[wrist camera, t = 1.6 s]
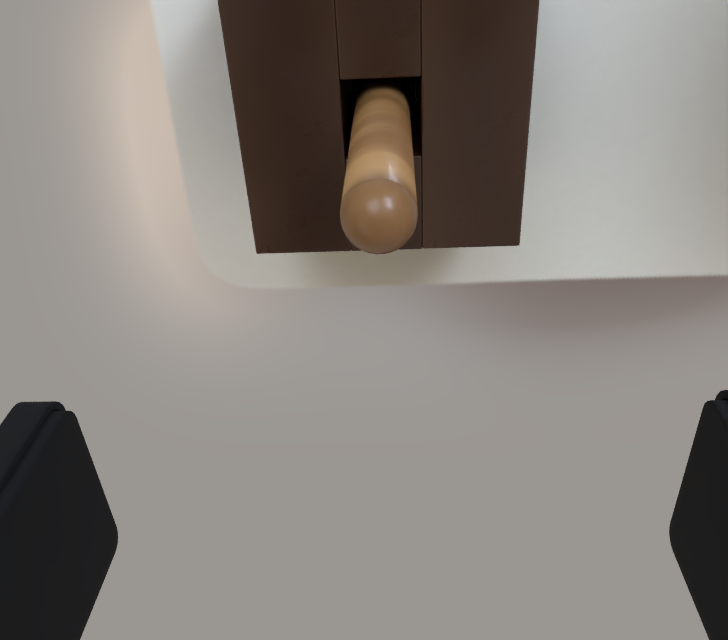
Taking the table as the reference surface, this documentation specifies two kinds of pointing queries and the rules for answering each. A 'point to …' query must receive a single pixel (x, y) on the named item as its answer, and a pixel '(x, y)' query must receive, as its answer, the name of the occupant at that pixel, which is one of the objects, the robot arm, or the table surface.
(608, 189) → the table surface
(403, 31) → the holder
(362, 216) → the stick
